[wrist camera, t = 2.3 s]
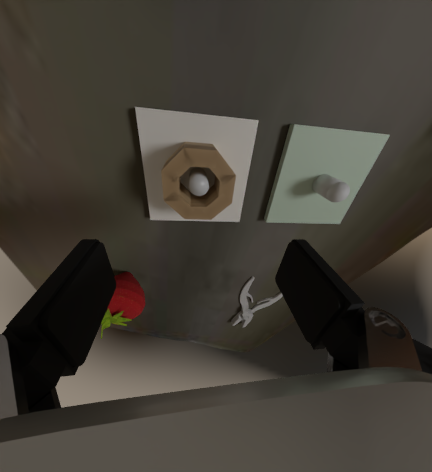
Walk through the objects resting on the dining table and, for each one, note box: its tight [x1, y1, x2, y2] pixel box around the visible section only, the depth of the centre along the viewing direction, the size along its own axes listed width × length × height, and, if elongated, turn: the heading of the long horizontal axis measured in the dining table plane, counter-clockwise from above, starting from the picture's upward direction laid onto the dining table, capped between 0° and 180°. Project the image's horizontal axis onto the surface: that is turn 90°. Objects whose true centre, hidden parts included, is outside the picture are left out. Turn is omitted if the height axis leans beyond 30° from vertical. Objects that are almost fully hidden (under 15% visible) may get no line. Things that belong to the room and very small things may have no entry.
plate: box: [264, 124, 390, 224], centre depth 22 cm, size 12×12×5 cm
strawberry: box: [101, 272, 145, 339], centre depth 25 cm, size 6×8×10 cm
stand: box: [135, 107, 259, 222], centre depth 19 cm, size 12×12×4 cm
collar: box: [161, 142, 236, 220], centre depth 19 cm, size 7×7×4 cm
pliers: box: [231, 276, 283, 327], centre depth 38 cm, size 10×2×15 cm
